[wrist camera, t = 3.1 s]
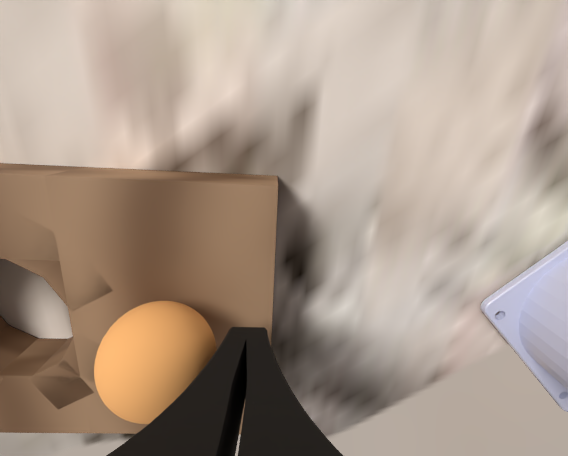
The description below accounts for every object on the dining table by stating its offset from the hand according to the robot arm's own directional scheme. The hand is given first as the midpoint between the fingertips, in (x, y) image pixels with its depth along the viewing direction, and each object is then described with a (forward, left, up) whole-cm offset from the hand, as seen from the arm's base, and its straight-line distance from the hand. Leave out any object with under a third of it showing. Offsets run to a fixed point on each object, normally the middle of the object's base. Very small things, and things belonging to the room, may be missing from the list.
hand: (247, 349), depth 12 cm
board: (+5, +5, -4) cm, 8 cm away
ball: (+2, +2, +1) cm, 3 cm away
